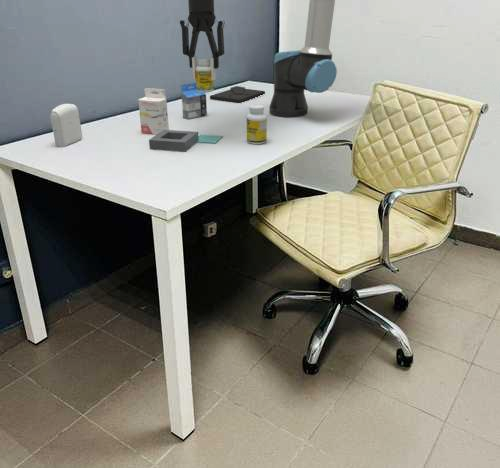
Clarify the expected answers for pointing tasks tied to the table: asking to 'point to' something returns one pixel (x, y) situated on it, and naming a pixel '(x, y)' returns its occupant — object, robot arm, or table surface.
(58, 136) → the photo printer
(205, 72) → the supplement bottle
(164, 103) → the ink cartridge box
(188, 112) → the label tape cartridge
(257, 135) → the pill bottle
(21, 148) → the table surface
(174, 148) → the socket frame
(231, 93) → the black ridged flat slab
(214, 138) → the coaster
